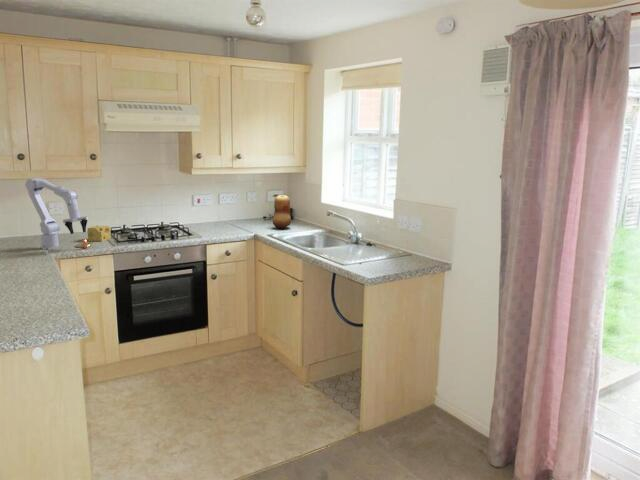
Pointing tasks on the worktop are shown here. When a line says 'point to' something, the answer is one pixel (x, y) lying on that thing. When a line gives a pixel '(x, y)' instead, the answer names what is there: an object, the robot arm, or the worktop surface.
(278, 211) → the butternut squash
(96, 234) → the cheese
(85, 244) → the cam capstan
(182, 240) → the worktop surface
